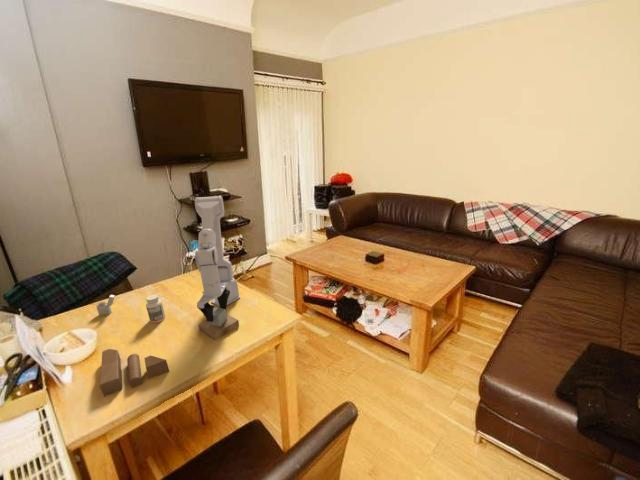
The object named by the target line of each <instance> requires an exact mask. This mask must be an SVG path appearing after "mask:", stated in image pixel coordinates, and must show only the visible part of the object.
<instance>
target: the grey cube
mask: <svg viewBox="0 0 640 480" xmlns="http://www.w3.org/2000/svg"><path fill="white" fill-rule="evenodd" d="M226 310H227V308H226V309H222V308H220V307H214V308H213V322H209V325H212V326H218V327H221V326H222V325H223V324H224V322H225V321H226V320H227V315H226V314H227V312H226Z"/></svg>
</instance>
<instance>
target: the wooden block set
mask: <svg viewBox="0 0 640 480" xmlns="http://www.w3.org/2000/svg"><path fill="white" fill-rule="evenodd" d="M126 361H127V373H128V374H127V377H128V378H127V379H128V386H130V387H131V388H135V387H138V386H140V385H141V383H142V382H143V378H142V370H141V360H140V355H139V354H138V353H132V354H130V355H129V356H128V357H127V359H126ZM144 365H145V369H146V373H147V376H148V379H149V380H150V379H154V378H155V377H156V378H157V377H159V376H162V375H163V374H166V373H168V372H170V369H169V368H170V367H169V366H168V362H167V359H164V358H162V357H157V356H153V355H148V356H146V357H144ZM122 370H123V369H122V360H121V356H120V353H119V351H118V349H112V348H108V349H105V350H103V351H102V352H101V365H100V371H99V388H100V391H101V393H102V396H103V397H108V396H110V395H113V394H116V393H118V392H121V391H122V390H123V371H122Z"/></svg>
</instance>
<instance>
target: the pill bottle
mask: <svg viewBox="0 0 640 480" xmlns="http://www.w3.org/2000/svg"><path fill="white" fill-rule="evenodd" d="M145 300H146V305H145V307H146V311H147V315H148V319H149V322H150V323H151V324H156V323H157V324H158V323H161V322H162V321H163V320H165V318H166V314H165V311H164V306H163V302H162V300H161V299H160V298H159V296H158V294H151V295H148V296H147V297H146V298H145Z"/></svg>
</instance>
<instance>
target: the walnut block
mask: <svg viewBox="0 0 640 480" xmlns="http://www.w3.org/2000/svg"><path fill="white" fill-rule="evenodd" d="M226 315H227V320H226V321H225V322H224V324H223V325H222V326H221V327H218V326H212V325H209V321H207V319H205V320H204V321H202V322H199V323H198V329H199V331H200V332H202V333H204V334H205V335H206V336H208V337H210V338H212V340H213V339H214V340H215V341H217V340H218V339H220V338H222V337H223V336H225V335H227V334H229V333H231V332H232V331H233V330H235V329H236V328H238V327H240V323H239V319H236V318H235V317H233V316H231V315H229V314H228V313H226Z"/></svg>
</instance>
